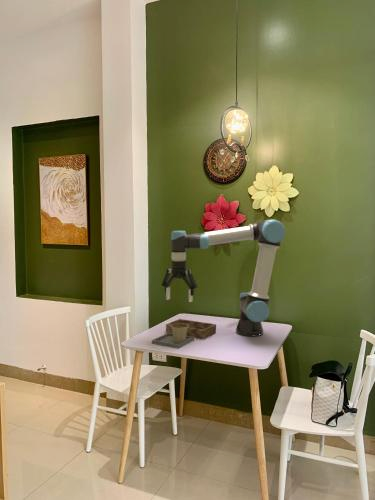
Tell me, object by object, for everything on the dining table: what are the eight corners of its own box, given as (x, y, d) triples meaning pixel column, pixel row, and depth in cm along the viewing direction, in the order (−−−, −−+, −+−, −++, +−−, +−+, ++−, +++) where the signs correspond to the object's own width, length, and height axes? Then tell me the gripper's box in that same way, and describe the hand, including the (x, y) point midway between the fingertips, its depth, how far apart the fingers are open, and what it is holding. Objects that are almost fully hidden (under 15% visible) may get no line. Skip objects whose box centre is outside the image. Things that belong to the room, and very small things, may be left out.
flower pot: (190, 339, 204) (190, 323, 204) (187, 345, 195) (187, 328, 194) (172, 338, 206) (172, 322, 205) (169, 344, 196) (169, 327, 196)
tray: (194, 340, 205) (194, 337, 205) (178, 348, 191) (178, 345, 191) (168, 335, 213) (168, 332, 213) (151, 343, 199) (151, 340, 199)
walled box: (216, 333, 219) (216, 324, 219) (203, 339, 206) (204, 330, 206) (179, 327, 231) (179, 318, 231) (166, 333, 218) (166, 324, 218)
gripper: (203, 260, 199) (203, 301, 201) (162, 258, 211) (162, 297, 212) (196, 261, 193) (197, 304, 194) (154, 260, 204) (155, 299, 206)
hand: (179, 300), depth 203 cm, fingers open, 13 cm apart
